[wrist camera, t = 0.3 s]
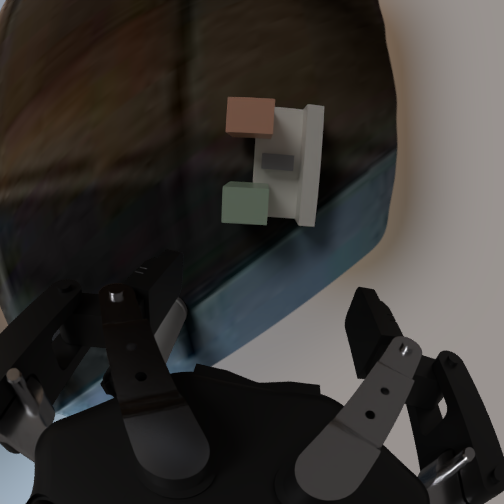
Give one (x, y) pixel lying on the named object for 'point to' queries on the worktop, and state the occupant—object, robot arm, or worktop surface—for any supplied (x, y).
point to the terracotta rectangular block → (250, 117)
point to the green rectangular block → (245, 203)
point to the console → (292, 163)
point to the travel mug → (158, 339)
